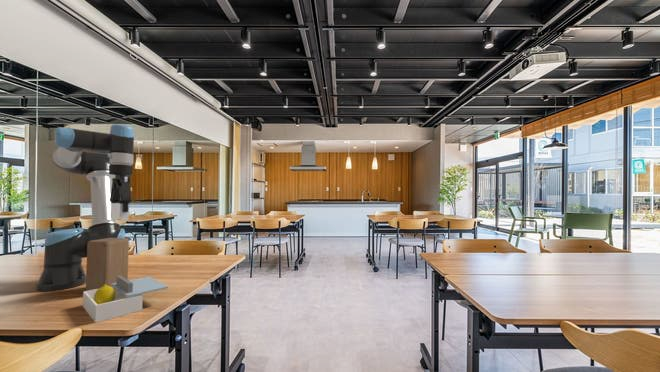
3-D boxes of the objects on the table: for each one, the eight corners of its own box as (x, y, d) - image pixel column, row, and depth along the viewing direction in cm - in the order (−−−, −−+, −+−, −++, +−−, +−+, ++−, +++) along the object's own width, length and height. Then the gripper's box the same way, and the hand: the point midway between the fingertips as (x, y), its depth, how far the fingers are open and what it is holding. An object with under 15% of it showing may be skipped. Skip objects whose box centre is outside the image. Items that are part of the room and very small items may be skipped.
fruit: (118, 304, 95) (119, 281, 95) (107, 311, 89) (108, 286, 90) (101, 305, 94) (102, 281, 95) (88, 312, 89) (89, 286, 89)
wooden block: (105, 294, 107) (107, 241, 108) (84, 292, 109) (86, 240, 110) (128, 286, 117) (130, 238, 118) (109, 284, 119) (110, 237, 120)
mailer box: (82, 306, 95) (83, 291, 95) (125, 296, 104) (125, 283, 104) (95, 322, 83) (96, 305, 83) (142, 310, 92) (142, 294, 92)
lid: (111, 285, 101) (112, 275, 101) (149, 278, 110) (149, 268, 110) (127, 297, 89) (127, 285, 89) (168, 288, 98) (168, 277, 98)
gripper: (101, 166, 114) (99, 219, 114) (118, 161, 99) (116, 222, 98) (123, 167, 120) (122, 218, 119) (142, 163, 105) (140, 221, 104)
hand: (119, 220), depth 109 cm, fingers open, 12 cm apart
